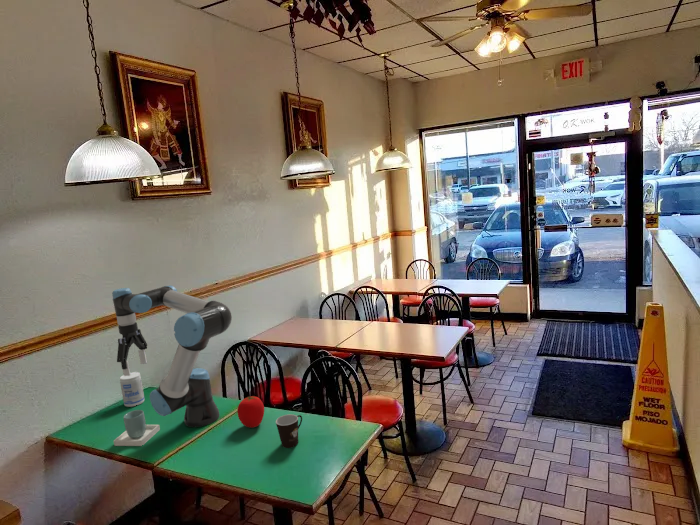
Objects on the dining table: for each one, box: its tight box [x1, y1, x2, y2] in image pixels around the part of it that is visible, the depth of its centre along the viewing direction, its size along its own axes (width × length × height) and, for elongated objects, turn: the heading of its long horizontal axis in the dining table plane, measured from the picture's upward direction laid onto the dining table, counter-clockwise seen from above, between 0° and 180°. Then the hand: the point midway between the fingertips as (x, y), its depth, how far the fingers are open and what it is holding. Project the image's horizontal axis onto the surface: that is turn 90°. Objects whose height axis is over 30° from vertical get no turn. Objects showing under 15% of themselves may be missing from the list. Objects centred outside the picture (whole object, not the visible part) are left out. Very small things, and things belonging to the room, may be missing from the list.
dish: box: [113, 424, 161, 447], centre depth 205 cm, size 13×13×2 cm
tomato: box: [236, 395, 265, 429], centre depth 203 cm, size 11×11×13 cm
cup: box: [123, 409, 147, 438], centre depth 204 cm, size 8×8×10 cm
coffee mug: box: [275, 413, 303, 449], centre depth 187 cm, size 12×9×10 cm
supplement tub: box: [119, 371, 145, 408], centre depth 240 cm, size 10×10×15 cm
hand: (135, 369), depth 213 cm, fingers open, 13 cm apart
